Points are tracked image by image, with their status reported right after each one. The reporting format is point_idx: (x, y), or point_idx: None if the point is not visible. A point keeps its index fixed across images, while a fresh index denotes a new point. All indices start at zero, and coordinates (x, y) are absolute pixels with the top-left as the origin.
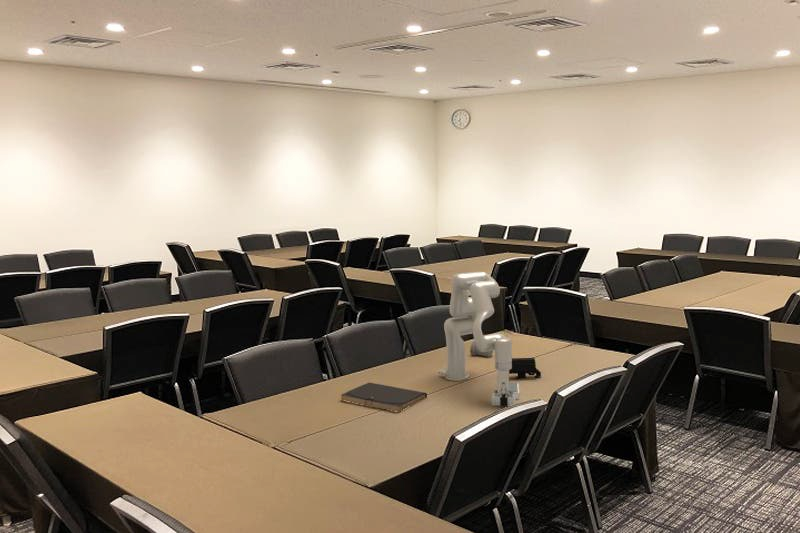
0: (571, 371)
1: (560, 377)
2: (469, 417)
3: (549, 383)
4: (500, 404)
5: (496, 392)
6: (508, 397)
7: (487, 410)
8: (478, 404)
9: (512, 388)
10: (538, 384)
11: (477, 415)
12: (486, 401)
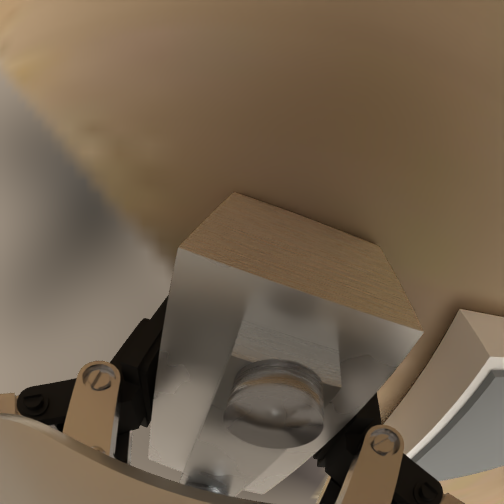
0: (498, 500)
1: (487, 497)
2: (2, 3)
3: (471, 493)
4: (166, 300)
5: (231, 395)
6: (152, 431)
7: (86, 119)
8: (317, 18)
9: (470, 460)
10: (491, 475)
11: (11, 45)
12: (425, 156)
